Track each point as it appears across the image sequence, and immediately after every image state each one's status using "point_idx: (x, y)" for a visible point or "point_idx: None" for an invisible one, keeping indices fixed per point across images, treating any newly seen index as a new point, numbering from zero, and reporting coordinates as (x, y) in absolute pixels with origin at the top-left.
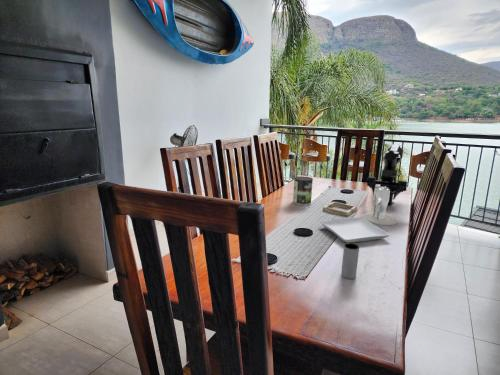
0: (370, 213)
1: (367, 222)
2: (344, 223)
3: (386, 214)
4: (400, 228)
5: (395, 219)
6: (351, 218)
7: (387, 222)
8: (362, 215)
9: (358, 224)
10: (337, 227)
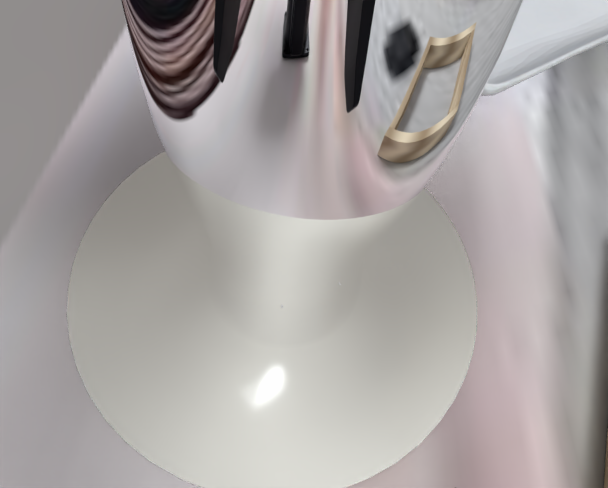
0: (379, 426)
1: None
2: (570, 43)
3: (148, 456)
4: (122, 97)
5: (88, 272)
6: (551, 60)
7: None
8: (470, 307)
9: None
10: (589, 8)
